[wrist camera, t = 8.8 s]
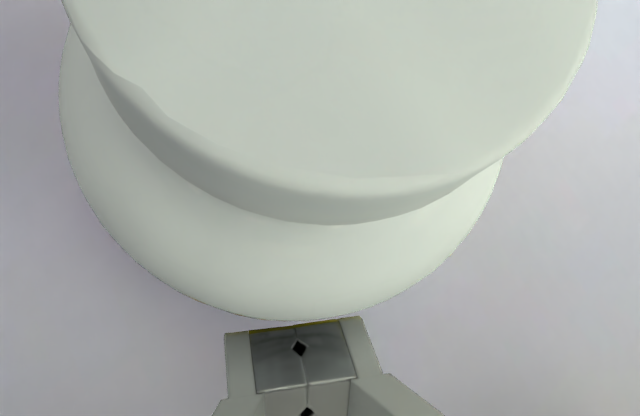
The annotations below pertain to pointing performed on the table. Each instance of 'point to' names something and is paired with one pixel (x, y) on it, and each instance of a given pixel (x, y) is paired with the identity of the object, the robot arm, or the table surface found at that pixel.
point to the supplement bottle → (304, 135)
